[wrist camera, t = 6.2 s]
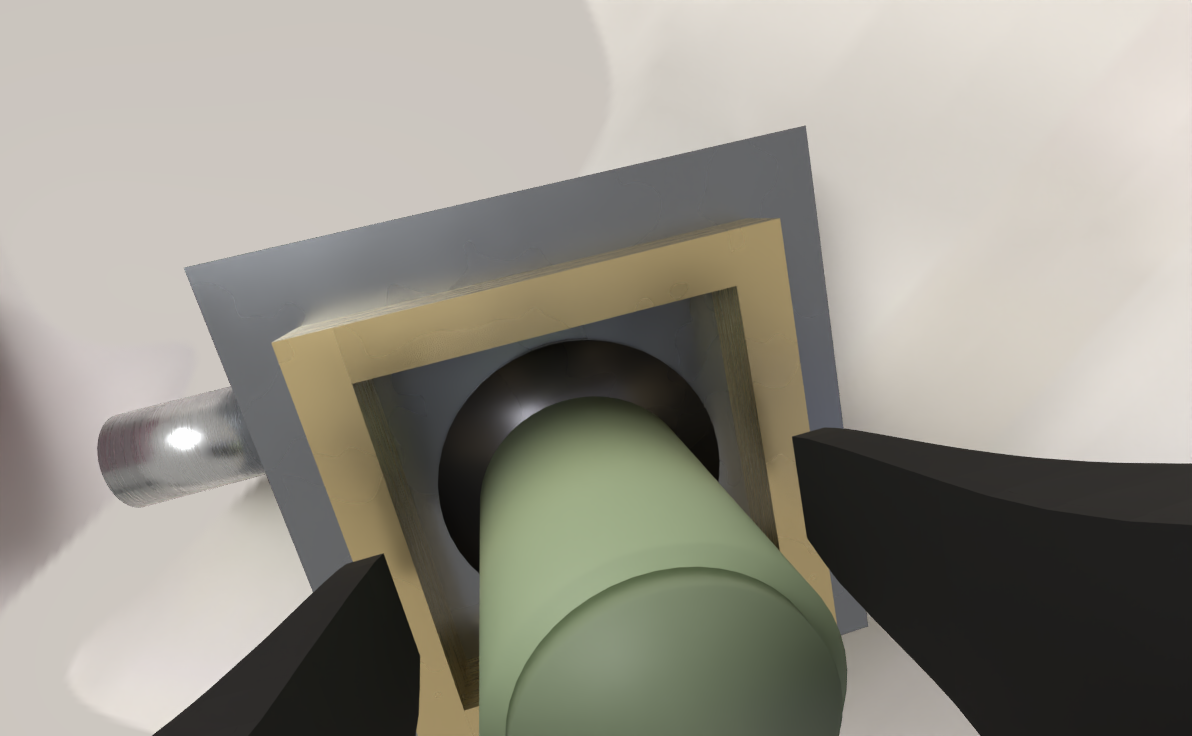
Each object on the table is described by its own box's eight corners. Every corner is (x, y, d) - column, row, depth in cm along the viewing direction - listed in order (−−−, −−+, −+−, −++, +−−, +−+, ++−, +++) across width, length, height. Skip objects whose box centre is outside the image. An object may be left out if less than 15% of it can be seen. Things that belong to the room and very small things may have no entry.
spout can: (666, 368, 13) (920, 575, 5) (712, 556, 14) (971, 934, 7) (449, 436, 12) (402, 766, 5) (517, 624, 14) (559, 1113, 6)
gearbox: (745, 142, 15) (847, 112, 11) (808, 562, 18) (907, 668, 14) (106, 289, 14) (-68, 322, 9) (294, 722, 17) (228, 895, 13)
